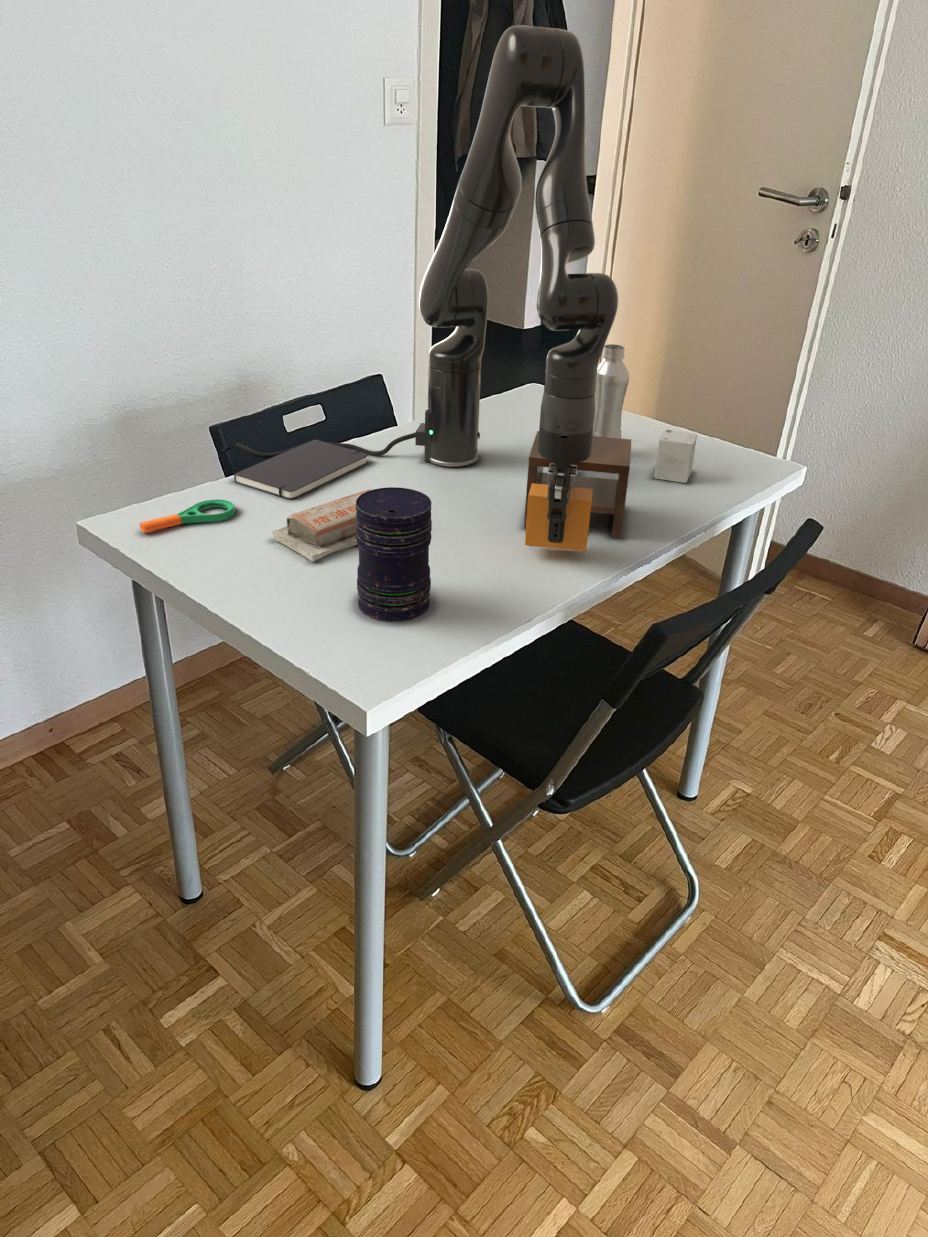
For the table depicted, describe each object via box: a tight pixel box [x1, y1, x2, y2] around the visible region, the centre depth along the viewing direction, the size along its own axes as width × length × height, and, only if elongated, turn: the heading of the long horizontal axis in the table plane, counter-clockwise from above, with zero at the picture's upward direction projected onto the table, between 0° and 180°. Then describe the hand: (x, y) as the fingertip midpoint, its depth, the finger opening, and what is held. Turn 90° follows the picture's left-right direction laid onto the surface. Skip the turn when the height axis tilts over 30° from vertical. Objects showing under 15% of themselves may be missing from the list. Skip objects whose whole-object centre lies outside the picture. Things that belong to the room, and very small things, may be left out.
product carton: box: [653, 429, 698, 484], centre depth 174 cm, size 6×6×7 cm
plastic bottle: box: [593, 343, 630, 439], centre depth 179 cm, size 6×7×20 cm
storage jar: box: [356, 486, 433, 623], centre depth 128 cm, size 10×10×15 cm
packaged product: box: [272, 489, 371, 563], centre depth 149 cm, size 18×5×10 cm
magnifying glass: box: [139, 498, 235, 534], centre depth 152 cm, size 15×6×2 cm, turn 131°
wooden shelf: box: [523, 430, 632, 540], centre depth 155 cm, size 15×12×12 cm
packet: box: [524, 483, 593, 552], centre depth 143 cm, size 9×5×8 cm, turn 80°
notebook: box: [233, 439, 369, 500], centre depth 171 cm, size 13×2×21 cm
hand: (556, 533), depth 145 cm, fingers closed on packet, 4 cm apart
